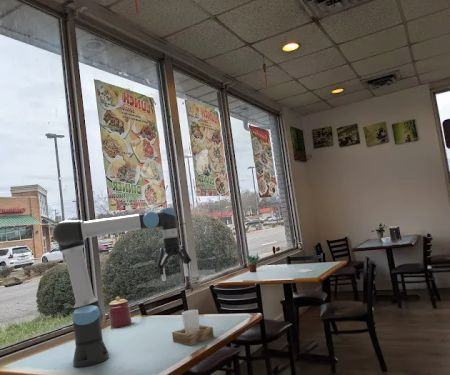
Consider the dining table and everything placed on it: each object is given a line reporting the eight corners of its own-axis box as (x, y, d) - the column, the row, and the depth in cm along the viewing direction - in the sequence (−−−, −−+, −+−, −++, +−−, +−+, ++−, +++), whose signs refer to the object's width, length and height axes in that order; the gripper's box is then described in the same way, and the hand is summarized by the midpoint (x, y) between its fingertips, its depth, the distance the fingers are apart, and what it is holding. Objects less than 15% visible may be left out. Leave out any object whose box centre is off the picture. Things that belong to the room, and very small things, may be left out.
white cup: (202, 329, 196) (199, 308, 197) (199, 334, 188) (196, 312, 189) (186, 331, 197) (183, 310, 198) (183, 336, 189) (180, 314, 190)
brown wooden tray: (189, 345, 182) (187, 335, 183) (173, 341, 193) (172, 332, 194) (213, 336, 191) (212, 327, 192) (197, 333, 202) (196, 324, 202)
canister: (108, 326, 253) (105, 297, 255) (129, 321, 259) (126, 293, 260) (112, 329, 241) (108, 299, 243) (133, 324, 247) (130, 295, 249)
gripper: (152, 239, 200) (157, 283, 197) (194, 234, 215) (199, 274, 213) (145, 240, 205) (150, 283, 203) (186, 235, 221) (191, 274, 219)
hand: (175, 278), depth 208 cm, fingers open, 13 cm apart
